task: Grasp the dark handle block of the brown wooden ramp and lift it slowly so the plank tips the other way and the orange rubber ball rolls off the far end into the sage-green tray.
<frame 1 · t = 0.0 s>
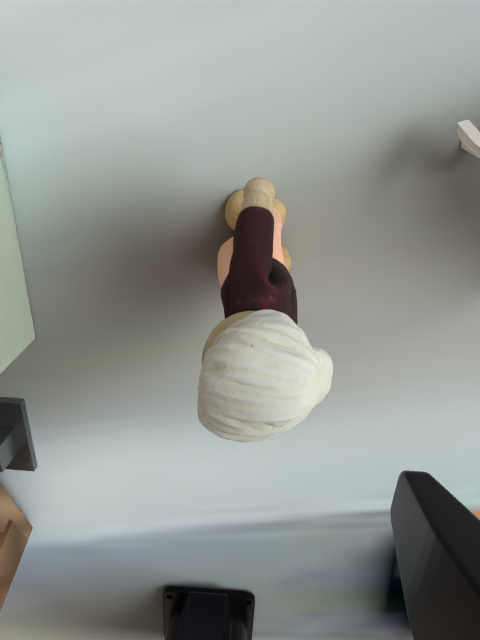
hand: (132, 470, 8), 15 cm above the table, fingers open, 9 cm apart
grandmother figurine: (259, 248, 21), on the table
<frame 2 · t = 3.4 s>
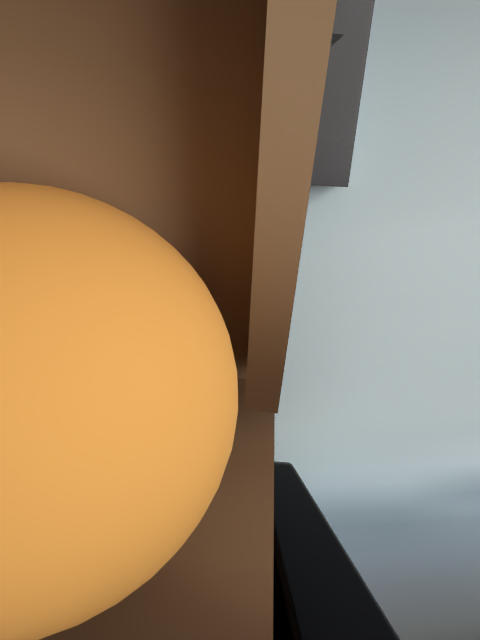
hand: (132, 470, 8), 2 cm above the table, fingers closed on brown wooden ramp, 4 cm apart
ball: (33, 396, 4), point 4 cm above the table, tilted 9°, touching brown wooden ramp
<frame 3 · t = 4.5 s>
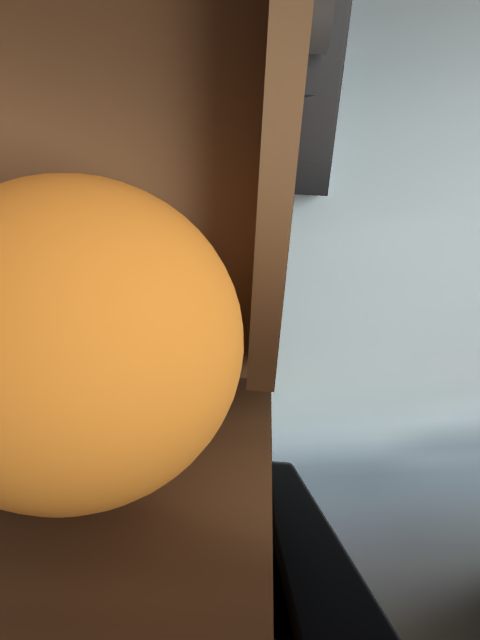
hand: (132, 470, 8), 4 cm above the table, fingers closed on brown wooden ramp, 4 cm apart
fulcrum: (165, 41, 8), on the table
ball: (83, 341, 5), point 5 cm above the table, touching brown wooden ramp
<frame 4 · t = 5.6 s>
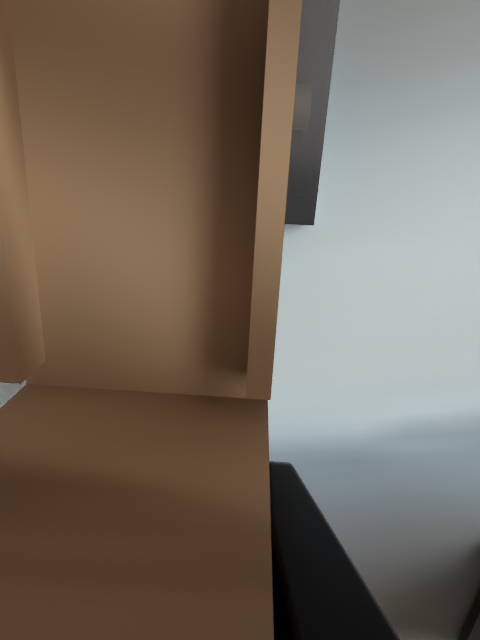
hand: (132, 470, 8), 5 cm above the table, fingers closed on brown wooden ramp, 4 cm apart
fulcrum: (180, 101, 10), on the table
brown wooden ramp: (93, 64, 5), point 6 cm above the table, hinge at 6.7°, touching gripper
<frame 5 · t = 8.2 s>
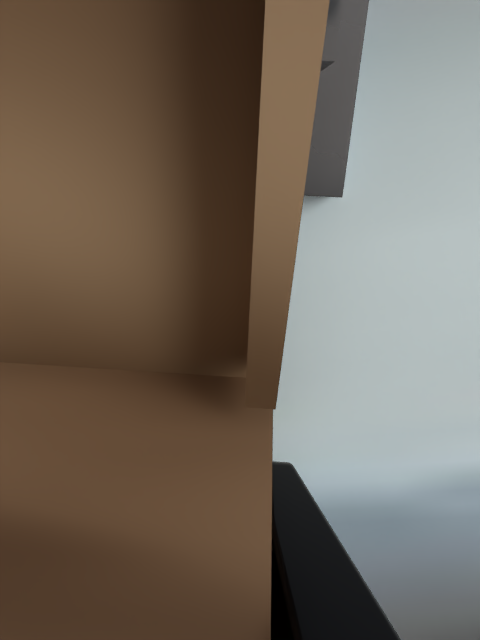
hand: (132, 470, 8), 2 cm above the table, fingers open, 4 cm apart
fulcrum: (141, 6, 7), on the table
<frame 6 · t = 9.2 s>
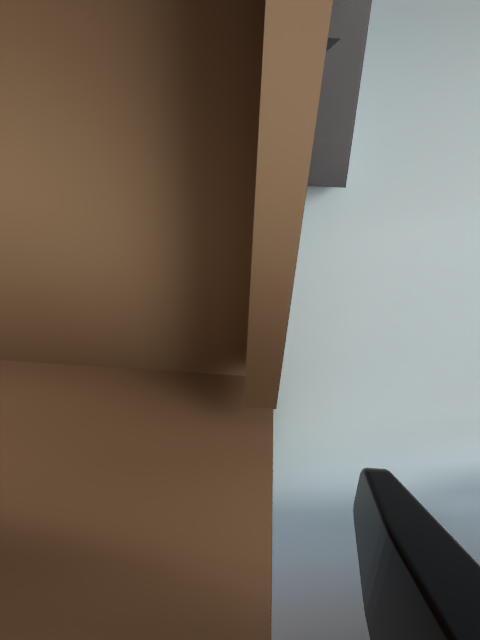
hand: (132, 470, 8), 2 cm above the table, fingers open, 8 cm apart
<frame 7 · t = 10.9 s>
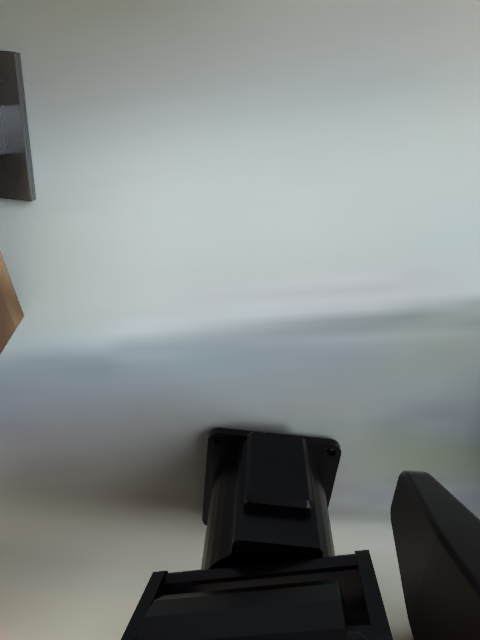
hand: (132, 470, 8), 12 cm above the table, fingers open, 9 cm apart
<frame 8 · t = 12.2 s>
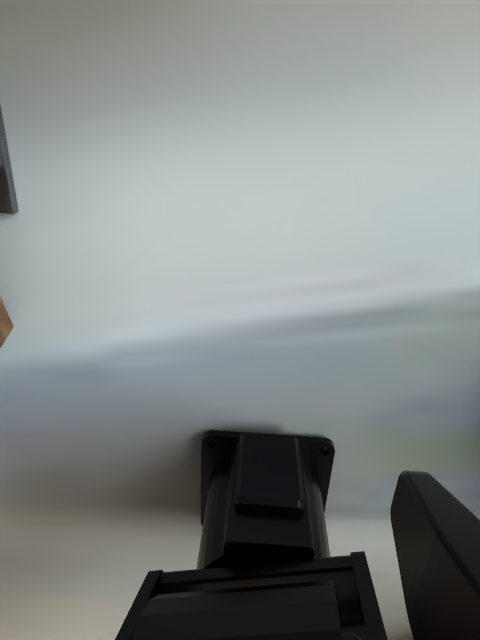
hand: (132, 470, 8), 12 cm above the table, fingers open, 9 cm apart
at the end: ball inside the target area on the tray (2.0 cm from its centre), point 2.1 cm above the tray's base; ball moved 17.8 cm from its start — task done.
